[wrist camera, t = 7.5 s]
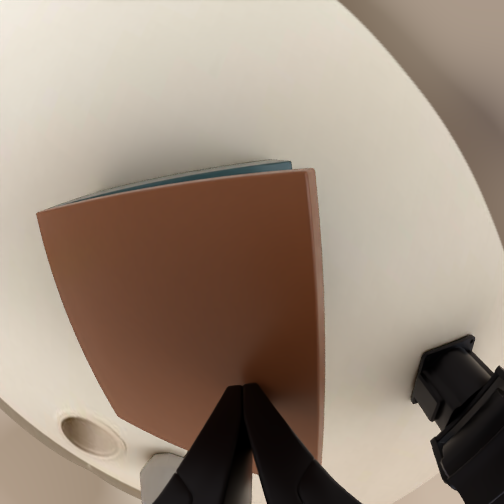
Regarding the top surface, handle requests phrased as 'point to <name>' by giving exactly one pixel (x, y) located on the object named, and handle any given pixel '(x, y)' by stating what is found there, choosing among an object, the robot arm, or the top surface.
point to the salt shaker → (157, 475)
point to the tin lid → (198, 298)
